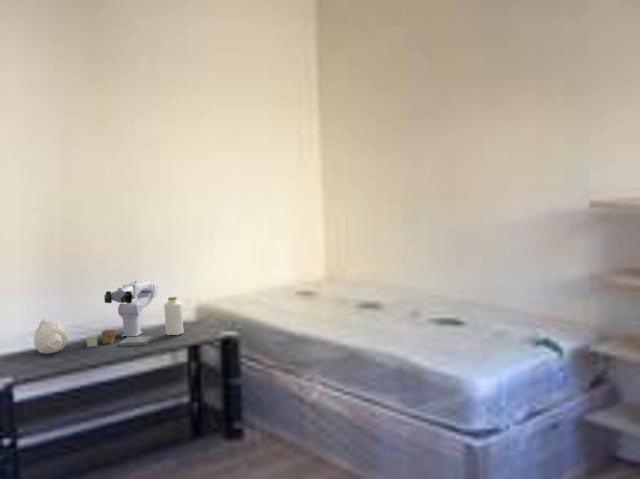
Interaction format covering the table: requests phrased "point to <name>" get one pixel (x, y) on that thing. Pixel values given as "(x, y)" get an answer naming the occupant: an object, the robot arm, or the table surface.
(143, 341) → the grey square tile
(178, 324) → the potion bottle
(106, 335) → the walnut block
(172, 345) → the table surface
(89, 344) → the pale green block
